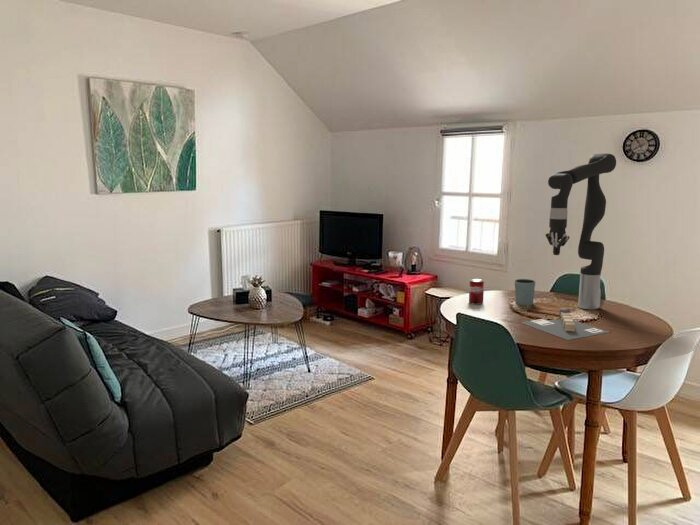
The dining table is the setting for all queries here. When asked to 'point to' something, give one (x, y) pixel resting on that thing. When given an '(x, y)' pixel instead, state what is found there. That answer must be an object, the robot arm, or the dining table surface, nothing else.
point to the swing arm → (566, 319)
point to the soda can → (476, 291)
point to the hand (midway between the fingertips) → (556, 254)
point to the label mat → (558, 329)
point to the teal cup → (524, 291)
